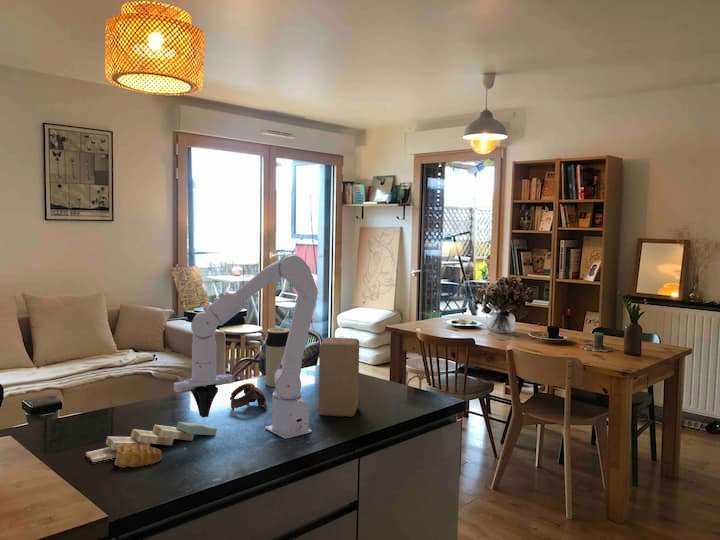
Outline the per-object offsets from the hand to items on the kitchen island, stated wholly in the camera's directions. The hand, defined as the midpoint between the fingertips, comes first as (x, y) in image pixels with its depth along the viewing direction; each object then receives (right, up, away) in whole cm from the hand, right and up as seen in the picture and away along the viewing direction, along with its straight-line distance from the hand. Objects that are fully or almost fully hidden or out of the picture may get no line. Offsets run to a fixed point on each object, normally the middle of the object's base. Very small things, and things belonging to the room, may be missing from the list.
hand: (204, 416), depth 143 cm
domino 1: (-14, -5, -12) cm, 19 cm away
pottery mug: (+7, -4, +21) cm, 23 cm away
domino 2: (-11, -4, -9) cm, 15 cm away
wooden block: (+32, -4, +20) cm, 38 cm away
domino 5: (+1, -4, +1) cm, 4 cm away
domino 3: (-7, -4, -6) cm, 10 cm away
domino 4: (-3, -4, -2) cm, 5 cm away
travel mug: (+12, -2, +47) cm, 49 cm away
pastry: (-10, -6, -17) cm, 21 cm away
